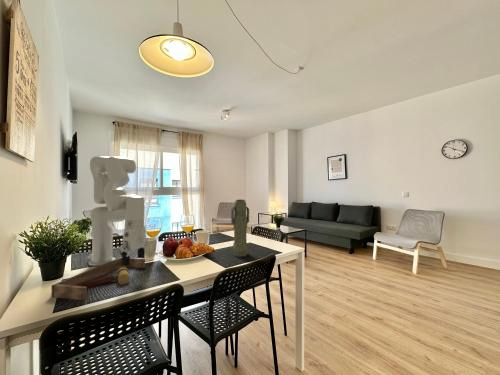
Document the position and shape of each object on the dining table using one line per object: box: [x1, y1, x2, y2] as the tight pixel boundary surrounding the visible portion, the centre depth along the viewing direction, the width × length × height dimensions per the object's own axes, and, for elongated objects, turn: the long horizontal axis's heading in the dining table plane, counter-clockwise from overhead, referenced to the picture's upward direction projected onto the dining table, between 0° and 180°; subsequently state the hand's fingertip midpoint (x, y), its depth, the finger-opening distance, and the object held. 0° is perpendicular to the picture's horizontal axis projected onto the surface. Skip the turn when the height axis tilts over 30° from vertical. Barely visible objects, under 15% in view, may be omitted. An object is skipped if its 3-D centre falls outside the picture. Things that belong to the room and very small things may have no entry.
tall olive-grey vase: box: [230, 199, 250, 258], centre depth 138 cm, size 9×12×35 cm
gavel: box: [76, 266, 131, 289], centre depth 95 cm, size 21×5×10 cm
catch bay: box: [50, 256, 146, 301], centre depth 100 cm, size 15×35×4 cm, turn 170°
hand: (133, 261), depth 98 cm, fingers open, 9 cm apart
